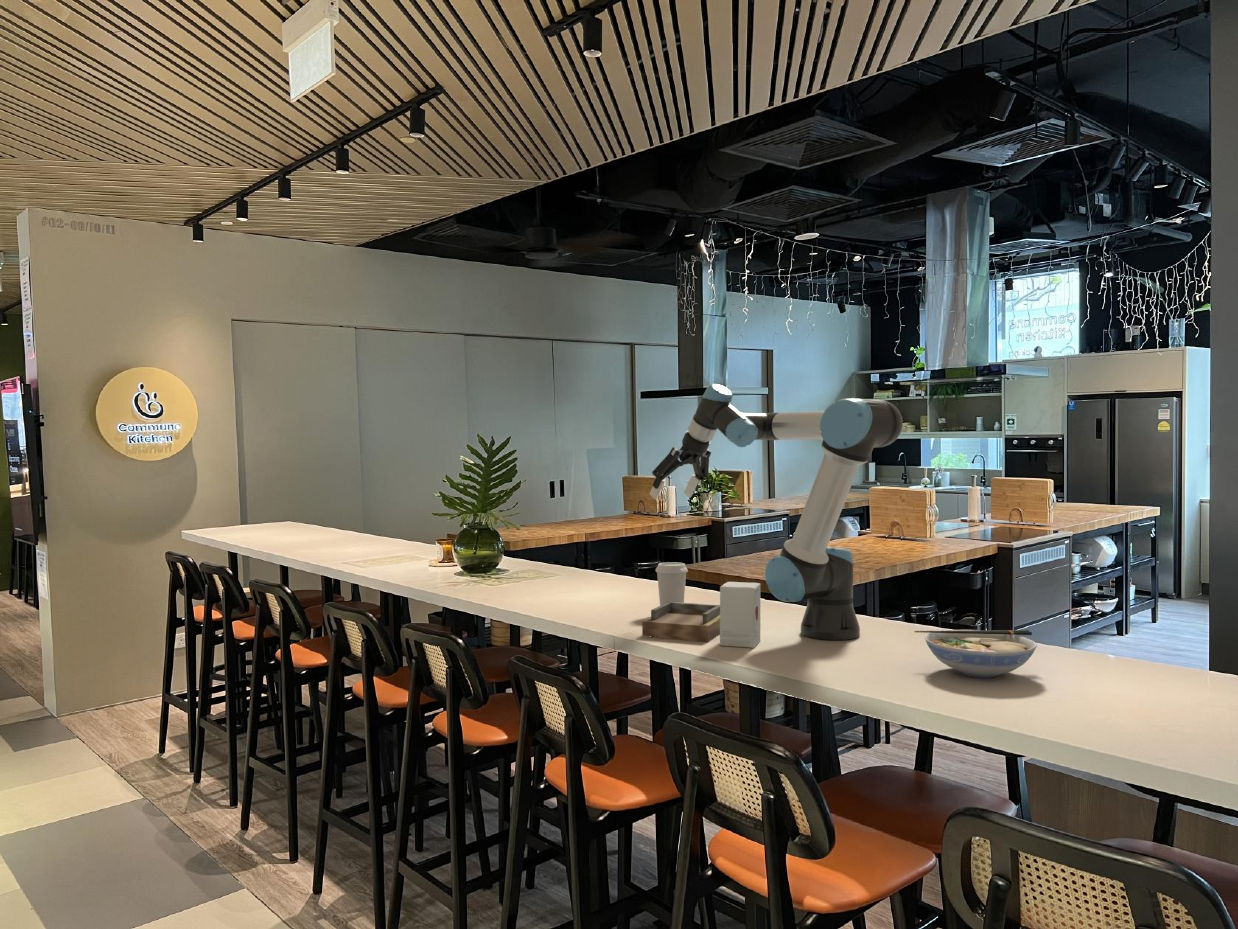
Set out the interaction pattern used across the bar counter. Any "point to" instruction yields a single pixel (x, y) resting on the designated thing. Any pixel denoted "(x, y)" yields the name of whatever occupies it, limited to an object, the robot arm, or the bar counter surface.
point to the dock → (683, 622)
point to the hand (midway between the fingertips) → (670, 495)
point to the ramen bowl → (981, 650)
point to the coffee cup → (671, 582)
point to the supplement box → (740, 614)
